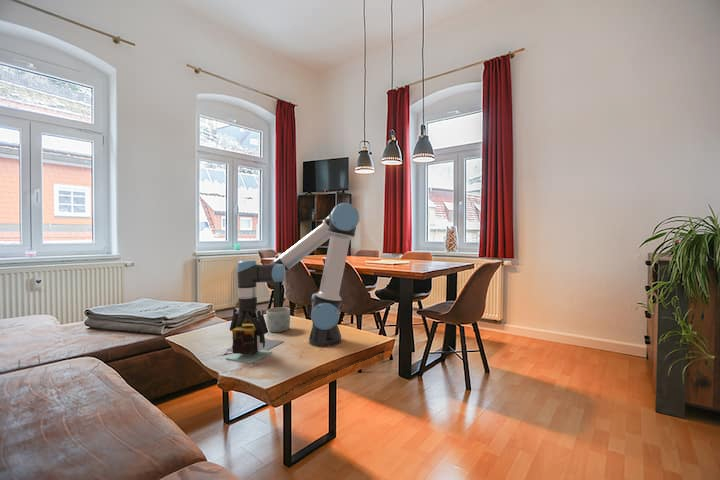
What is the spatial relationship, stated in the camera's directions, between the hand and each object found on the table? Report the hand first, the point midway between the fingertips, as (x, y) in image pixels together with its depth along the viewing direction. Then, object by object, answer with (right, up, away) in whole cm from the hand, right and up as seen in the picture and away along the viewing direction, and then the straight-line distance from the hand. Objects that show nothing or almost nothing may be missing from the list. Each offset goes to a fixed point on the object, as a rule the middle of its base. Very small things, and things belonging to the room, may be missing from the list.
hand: (249, 348), depth 150 cm
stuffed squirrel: (-19, -2, +57) cm, 60 cm away
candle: (0, -1, 0) cm, 1 cm away
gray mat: (-1, -3, +13) cm, 14 cm away
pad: (0, -3, 0) cm, 3 cm away
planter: (+4, -2, +38) cm, 39 cm away
